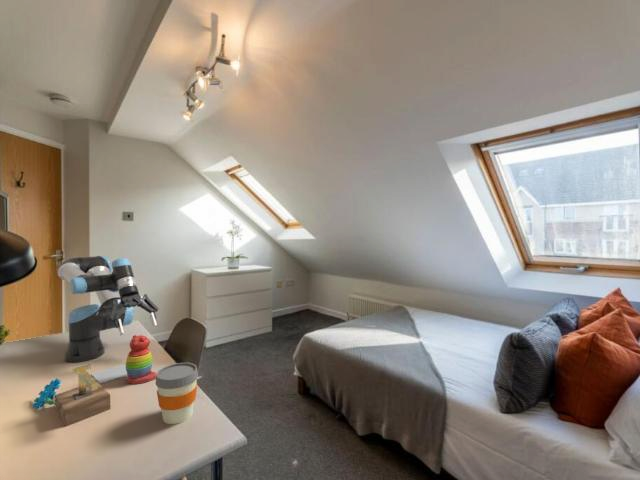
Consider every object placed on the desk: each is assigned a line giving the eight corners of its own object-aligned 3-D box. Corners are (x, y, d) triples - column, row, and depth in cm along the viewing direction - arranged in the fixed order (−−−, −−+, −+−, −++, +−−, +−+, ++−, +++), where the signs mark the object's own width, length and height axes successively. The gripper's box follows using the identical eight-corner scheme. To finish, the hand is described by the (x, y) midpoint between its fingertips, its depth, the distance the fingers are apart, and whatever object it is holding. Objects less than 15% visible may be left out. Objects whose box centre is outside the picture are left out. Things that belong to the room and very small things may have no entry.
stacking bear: (160, 377, 128) (159, 334, 127) (134, 387, 120) (133, 342, 119) (146, 370, 134) (145, 329, 133) (120, 380, 126) (119, 336, 125)
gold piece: (72, 395, 104) (72, 368, 104) (90, 389, 108) (89, 364, 107) (85, 412, 95) (85, 383, 94) (104, 405, 98) (103, 377, 98)
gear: (31, 397, 110) (56, 372, 114) (47, 403, 113) (71, 379, 117) (30, 415, 102) (58, 388, 105) (47, 421, 105) (74, 395, 109)
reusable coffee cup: (205, 414, 103) (204, 370, 102) (166, 433, 93) (165, 384, 93) (188, 400, 111) (187, 359, 110) (150, 416, 102) (149, 371, 101)
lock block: (55, 409, 105) (54, 394, 105) (97, 394, 115) (97, 380, 114) (65, 426, 96) (65, 409, 96) (110, 409, 106) (110, 393, 105)
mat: (91, 374, 130) (91, 374, 130) (123, 365, 139) (123, 364, 139) (100, 384, 122) (100, 383, 122) (133, 373, 131) (133, 372, 131)
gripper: (98, 288, 135) (109, 334, 128) (157, 281, 155) (170, 320, 147) (94, 296, 140) (104, 341, 132) (152, 288, 159) (164, 326, 152)
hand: (139, 330), depth 140 cm, fingers open, 13 cm apart
